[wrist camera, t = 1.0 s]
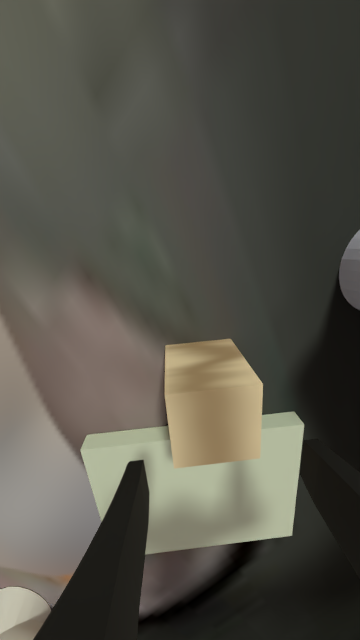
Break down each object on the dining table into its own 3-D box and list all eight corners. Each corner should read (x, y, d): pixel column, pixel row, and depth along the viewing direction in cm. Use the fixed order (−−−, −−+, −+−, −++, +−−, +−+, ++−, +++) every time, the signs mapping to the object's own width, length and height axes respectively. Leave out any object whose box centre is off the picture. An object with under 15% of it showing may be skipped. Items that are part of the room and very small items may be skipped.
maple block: (230, 338, 17) (262, 383, 11) (231, 393, 18) (260, 458, 13) (165, 345, 17) (164, 395, 11) (171, 400, 18) (174, 468, 13)
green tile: (294, 411, 19) (304, 424, 18) (284, 518, 24) (291, 535, 22) (87, 434, 19) (80, 450, 17) (115, 539, 23) (112, 558, 22)
